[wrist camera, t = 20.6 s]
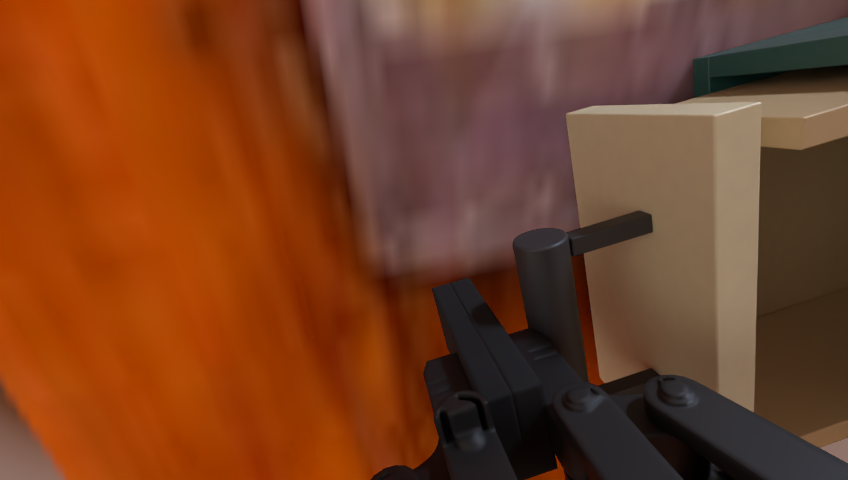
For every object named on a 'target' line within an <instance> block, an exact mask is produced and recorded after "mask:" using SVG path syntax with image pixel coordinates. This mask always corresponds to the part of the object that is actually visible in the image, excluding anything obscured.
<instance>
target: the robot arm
mask: <svg viewBox="0 0 848 480" xmlns="http://www.w3.org/2000/svg"><path fill="white" fill-rule="evenodd" d="M432 291H433V295H434V298H435V302H436V306H437V310H438V313H439V317H440V321H441V325H442V328H443V332H444V336H445V339H446V343H447V347H448V350H449V352H450V354H449V355H446V356H443V357H440V358H437V359H433V360H430V361H427V363H426V366H425V369H424V373H423V374H424V378H425V382H426V385H427V389H428V393H429V397H430V401H431V404H432V408H433V412H434V422H435V425H436V428H437V432H438V435H439V441H438V445H437V447H436V449H435V451H434V453H433V454H432V455H431V456H430V458H428V459H427V460H426V461H425V462H424V463H422V464H421V465H420V466H418V467H417V468H415V469H414V470H413V469H411V468H409V467H407V466H399V465H395V466H391V467H388V468H385V469H383V470H382V471H380V472H379V473H377V474H376V475H374V477H373V478H372V479H371V480H525V479H528V478H531V477H534V476H536V475H539V474H542V473H545V472H548V471H551V470H554V469H557V463H556V457H555V455H556V456H557V458H558V460H559V461H560V463H561V465H562V466H563V468H564V474H565V479H566V480H848V463H846V462H844V461H842V460H840V459H839V458H837V457H835V456H833V455H831V454H829V453H828V452H826V451H824V450H822V449H820V448H818V447H816V446H815V445H813V444H811V443H809V442H807V441H805V440H804V439H802V438H800V437H798V436H796V435H794V434H792V433H791V432H789V431H787V430H785V429H783V428H781V427H780V426H778V425H776V424H774V423H772V422H770V421H768V420H767V419H765V418H763V417H761V416H759V415H757V414H756V413H754V412H752V411H750V410H748V409H746V408H744V407H743V406H741V405H739V404H737V403H735V402H733V401H732V400H730V399H728V398H726V397H724V396H722V395H720V394H719V393H717V392H715V391H713V390H711V389H709V388H708V387H706V386H704V385H702V384H700V383H698V382H696V381H694V380H692V379H689V378H687V377H684V376H678V375H672V374H671V375H659V376H657V377H654V378H651V379H650V380H649V381H648V382H647V383H646V384H645V385H644V391H643V394H633V395H611V394H607V393H606V392H605V391H603V390H602V389H601V388H599V387H598V386H596V385H593V384H591V383H588V382H584V381H583V380H582V379H581V378H580V377H579V375H578V374H577V373H576V372H575V371H574V370H573V368H572V367H571V366H570V365H569V364H568V362H567V361H566V360H565V359H564V358H563V357H562V355H561V354H560V353H558V351H557V350H556V348H555V347H554V346H553V345H552V344H551V343H550V341H549V340H548V339H547V338H546V337H545V336H544V334H542V333H540V332H538V331H536V330H534V329H532V328H528V329H525V330H522V331H519V332H515V333H512V334H509V335H508V334H507V332H506V331H505V329H504V328H503V327H502V325H501V324H500V322H499V321H498V319H497V318H496V316H495V315H494V314H493V312H492V311H491V309H490V308H489V306H488V305H487V303H486V302H485V301H484V299H483V298H482V296H481V295H480V293H479V292H478V290H477V289H476V288H475V286H474V285H473V283H472V282H471V280H470V279H469V278H465V279H462V280H459V281H456V282H452V283H449V284H446V285H442V286H439V287H436V288H432Z"/></svg>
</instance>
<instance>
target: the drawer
mask: <svg viewBox="0 0 848 480" xmlns="http://www.w3.org/2000/svg"><path fill="white" fill-rule="evenodd" d="M566 122H567V129H568V137H569V145H570V152H571V160H572V168H573V175H574V183H575V191H576V199H577V206H578V214H579V222H580V228H579V229H576V230H573V231H569V232H565V231H563V230H560V229H554V228H543V229H536V230H532V231H528V232H525V233H523V234H521V235H519V236H517V237H516V238H515V239H514V241H513V250H514V255H515V261H516V266H517V271H518V276H519V281H520V287H521V292H522V297H523V302H524V307H525V313H526V318H527V323H528V328H532V329H534V330H536V331H538V332H540V333H542V334H544V336H545V337H546V338H547V339H548V340H549V341H550V343H551V344H552V345H553V346H554V347H555V348H556V350H557V351H558V353H560V354H561V355H562V357H563V358H564V359H565V360H566V361H567V362H568V364H569V365H570V366H571V367H572V368H573V370H574V371H575V372H576V373H577V374H578V375H579V377H580V378H581V379H582V380H583V381H584V382H588V383H589V379H588V372H587V365H586V358H585V351H584V344H583V337H582V330H581V323H580V316H579V309H578V301H577V294H576V287H575V280H574V273H573V266H572V259H571V255H572V256H577V255H581V254H584V260H585V268H586V276H587V283H588V291H589V299H590V306H591V314H592V322H593V329H594V337H595V345H596V353H597V360H598V368H599V376H600V378H601V380H602V381H603V382H604V383H605V384H602V385H599V386H598V387H599V388H601V389H602V390H603V391H605V392H606V393H607V394H611V395H633V394H643V391H644V385H645V384H646V383H647V382H648V381H649V380H650V379H651V378H654V377H657V376H659V375H671V374H672V375H678V376H684V377H687V378H689V379H692V380H694V381H696V382H698V383H700V384H702V385H704V386H706V387H708V388H709V389H711V390H713V391H715V392H717V393H719V394H720V395H722V396H724V397H726V398H728V399H730V400H732V401H733V402H735V403H737V404H739V405H741V406H743V407H744V408H746V409H748V410H750V411H752V412H754V413H756V414H757V415H759V416H761V417H763V418H765V419H767V420H768V421H770V422H772V423H774V424H776V425H778V426H780V427H781V428H783V429H785V430H787V431H789V432H791V433H792V434H794V435H796V436H798V437H800V438H802V439H804V440H805V441H807V442H809V443H811V444H813V445H815V446H816V447H818V448H820V447H823V446H826V445H829V444H831V443H834V442H837V441H840V440H843V439H845V438H848V65H843V66H832V67H822V68H811V69H800V70H792V71H788V72H785V73H781V74H778V75H774V76H771V77H767V78H763V79H760V80H756V81H753V82H749V83H746V84H742V85H739V86H735V87H732V88H728V89H725V90H721V91H718V92H714V93H711V94H707V95H704V96H700V97H697V98H693V99H689V100H686V101H682V102H679V103H675V104H648V105H606V106H591V107H588V108H584V109H580V110H577V111H573V112H570V113H567V114H566Z"/></svg>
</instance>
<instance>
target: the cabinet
mask: <svg viewBox="0 0 848 480" xmlns="http://www.w3.org/2000/svg"><path fill="white" fill-rule="evenodd" d="M843 65H848V17H844V18H840V19H837V20H833V21H830V22H826V23H822V24H819V25H815V26H811V27H808V28H804V29H801V30H797V31H793V32H790V33H786V34H782V35H779V36H775V37H772V38H768V39H764V40H761V41H757V42H753V43H750V44H746V45H743V46H739V47H735V48H732V49H728V50H724V51H721V52H717V53H714V54H710V55H706V56H703V57H699V58H696V59H694V60H693V70H694V98H697V97H700V96H704V95H707V94H711V93H714V92H718V91H721V90H725V89H728V88H732V87H735V86H739V85H742V84H746V83H749V82H753V81H756V80H760V79H763V78H767V77H771V76H774V75H778V74H781V73H785V72H788V71H792V70H800V69H811V68H822V67H832V66H843Z"/></svg>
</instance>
